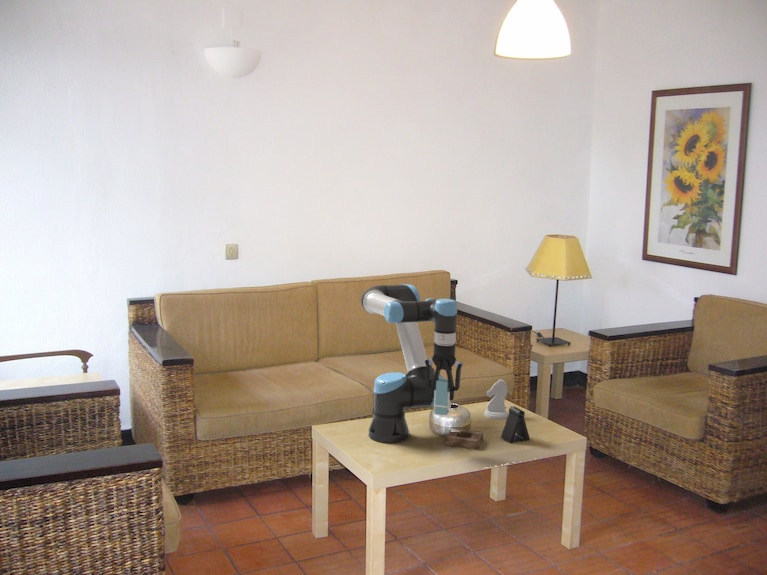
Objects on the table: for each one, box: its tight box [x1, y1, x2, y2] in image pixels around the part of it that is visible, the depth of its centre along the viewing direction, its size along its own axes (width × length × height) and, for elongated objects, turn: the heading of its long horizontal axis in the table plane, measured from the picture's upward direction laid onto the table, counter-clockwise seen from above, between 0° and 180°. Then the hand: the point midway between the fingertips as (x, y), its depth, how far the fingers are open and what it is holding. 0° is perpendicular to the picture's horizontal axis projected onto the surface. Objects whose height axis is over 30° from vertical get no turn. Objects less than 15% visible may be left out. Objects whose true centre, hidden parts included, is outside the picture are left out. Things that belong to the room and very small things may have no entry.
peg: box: [434, 377, 450, 416], centre depth 277 cm, size 4×4×12 cm
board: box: [444, 429, 484, 450], centre depth 288 cm, size 12×10×3 cm
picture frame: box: [500, 405, 531, 444], centre depth 293 cm, size 9×6×12 cm, turn 114°
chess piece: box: [483, 379, 509, 420], centre depth 319 cm, size 10×10×15 cm
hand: (442, 407), depth 278 cm, fingers closed on peg, 4 cm apart
